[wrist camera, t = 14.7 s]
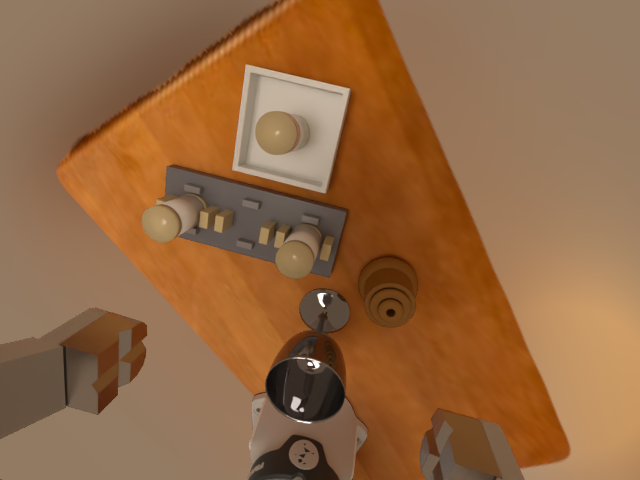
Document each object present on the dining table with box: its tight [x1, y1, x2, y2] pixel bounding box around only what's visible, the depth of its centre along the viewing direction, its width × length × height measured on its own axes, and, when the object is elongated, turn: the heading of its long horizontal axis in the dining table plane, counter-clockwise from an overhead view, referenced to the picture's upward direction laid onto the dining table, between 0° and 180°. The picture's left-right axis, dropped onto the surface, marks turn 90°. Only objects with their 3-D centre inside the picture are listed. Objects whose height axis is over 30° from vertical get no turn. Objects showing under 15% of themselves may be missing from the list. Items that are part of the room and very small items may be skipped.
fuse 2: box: [275, 223, 323, 279], centre depth 38 cm, size 4×4×8 cm
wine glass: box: [265, 289, 350, 423], centre depth 39 cm, size 8×8×15 cm
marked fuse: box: [255, 111, 310, 155], centre depth 35 cm, size 4×4×8 cm
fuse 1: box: [142, 193, 208, 242], centre depth 39 cm, size 4×4×8 cm
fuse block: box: [156, 165, 348, 278], centre depth 41 cm, size 9×23×4 cm, turn 77°
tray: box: [232, 64, 351, 193], centre depth 38 cm, size 11×11×3 cm
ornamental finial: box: [358, 257, 418, 327], centre depth 40 cm, size 8×8×8 cm
